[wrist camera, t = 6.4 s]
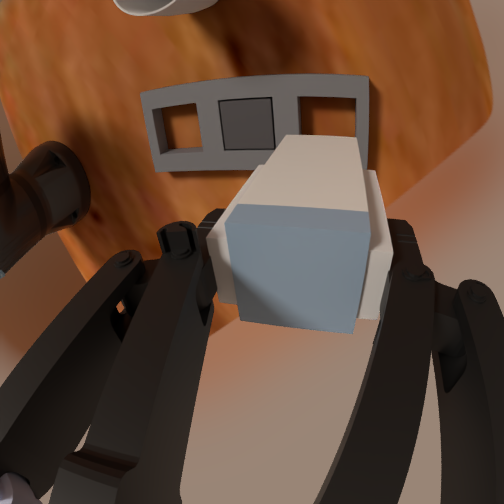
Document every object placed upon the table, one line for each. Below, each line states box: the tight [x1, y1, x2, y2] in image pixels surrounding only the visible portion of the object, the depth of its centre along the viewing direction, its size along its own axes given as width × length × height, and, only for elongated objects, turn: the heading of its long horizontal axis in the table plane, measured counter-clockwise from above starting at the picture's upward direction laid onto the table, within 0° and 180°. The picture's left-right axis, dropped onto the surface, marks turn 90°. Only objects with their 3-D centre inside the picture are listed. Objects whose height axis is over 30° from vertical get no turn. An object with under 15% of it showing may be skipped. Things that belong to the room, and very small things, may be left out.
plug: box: [224, 135, 371, 334], centre depth 13 cm, size 4×4×10 cm
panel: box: [140, 74, 369, 172], centre depth 30 cm, size 24×10×2 cm, turn 95°
